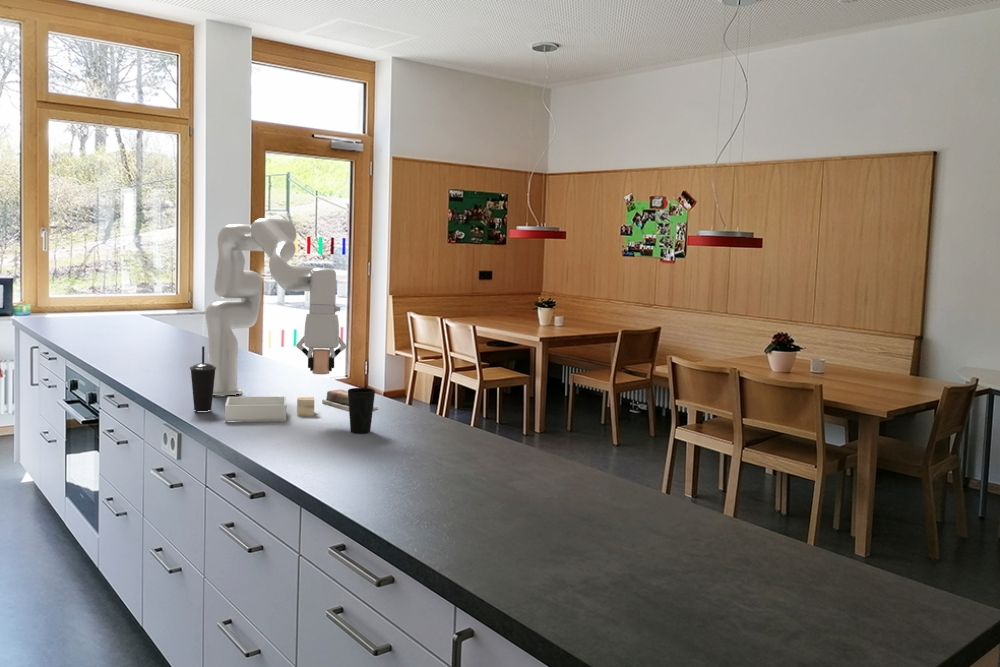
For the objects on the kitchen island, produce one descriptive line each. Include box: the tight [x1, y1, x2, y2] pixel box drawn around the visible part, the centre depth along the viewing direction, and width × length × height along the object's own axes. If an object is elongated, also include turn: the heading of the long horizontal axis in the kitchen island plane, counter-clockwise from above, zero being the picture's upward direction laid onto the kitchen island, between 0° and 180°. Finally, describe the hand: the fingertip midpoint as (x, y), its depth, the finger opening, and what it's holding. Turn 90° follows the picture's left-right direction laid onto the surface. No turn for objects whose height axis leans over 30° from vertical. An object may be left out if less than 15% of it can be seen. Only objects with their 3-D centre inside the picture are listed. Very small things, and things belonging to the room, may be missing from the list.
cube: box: [296, 396, 315, 417], centre depth 253 cm, size 5×5×5 cm
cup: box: [347, 387, 376, 435], centre depth 233 cm, size 8×8×12 cm
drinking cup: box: [189, 345, 216, 411], centre depth 249 cm, size 8×8×20 cm
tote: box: [224, 396, 287, 423], centre depth 245 cm, size 13×17×5 cm
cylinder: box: [311, 348, 331, 376], centre depth 244 cm, size 5×5×7 cm
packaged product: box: [321, 389, 379, 412], centre depth 268 cm, size 18×5×10 cm
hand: (320, 369), depth 244 cm, fingers closed on cylinder, 5 cm apart
